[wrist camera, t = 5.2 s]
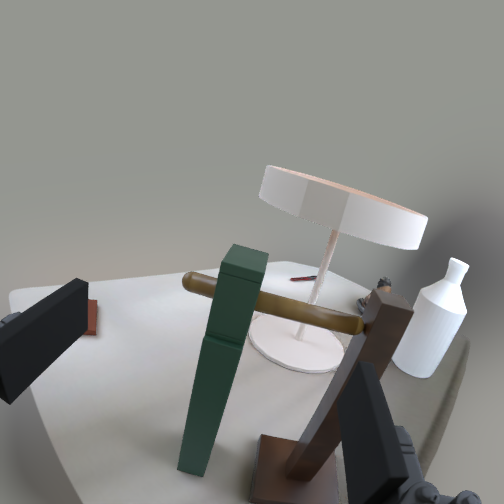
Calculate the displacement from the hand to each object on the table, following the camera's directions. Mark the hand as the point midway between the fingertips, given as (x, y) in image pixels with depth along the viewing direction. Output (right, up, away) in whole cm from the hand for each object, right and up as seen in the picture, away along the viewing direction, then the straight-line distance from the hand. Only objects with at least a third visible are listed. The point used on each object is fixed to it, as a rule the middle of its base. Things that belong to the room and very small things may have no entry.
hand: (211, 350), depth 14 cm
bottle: (+38, -21, +48) cm, 65 cm away
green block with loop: (-5, -19, +17) cm, 26 cm away
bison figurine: (+35, -13, +72) cm, 81 cm away
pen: (+18, -4, +84) cm, 86 cm away
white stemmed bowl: (+11, -14, +48) cm, 51 cm away
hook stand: (+1, -21, +17) cm, 27 cm away
